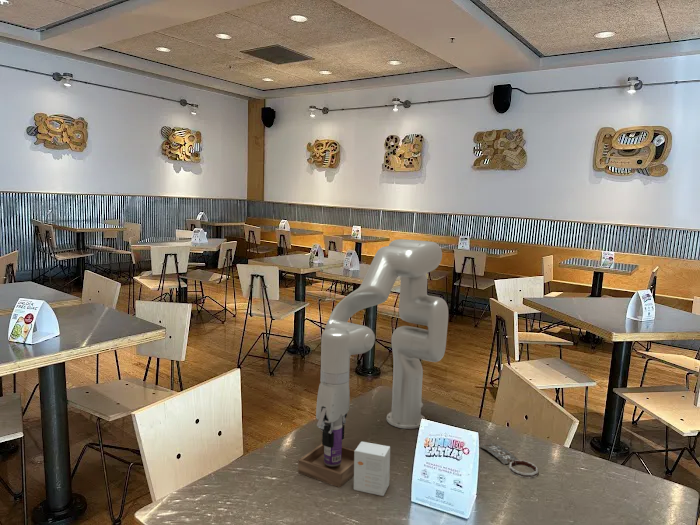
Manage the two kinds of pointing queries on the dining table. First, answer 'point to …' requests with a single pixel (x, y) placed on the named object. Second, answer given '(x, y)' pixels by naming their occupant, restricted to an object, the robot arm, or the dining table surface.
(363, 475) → the small box
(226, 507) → the dining table surface
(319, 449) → the tray
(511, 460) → the keychain
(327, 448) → the container
